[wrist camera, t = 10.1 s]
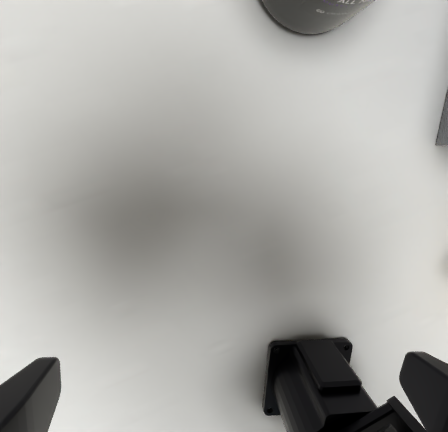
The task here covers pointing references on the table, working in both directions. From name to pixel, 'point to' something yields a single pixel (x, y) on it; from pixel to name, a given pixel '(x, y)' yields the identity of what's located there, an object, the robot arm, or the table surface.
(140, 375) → the table surface
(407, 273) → the table surface
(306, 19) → the supplement bottle
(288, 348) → the robot arm
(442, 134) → the block
